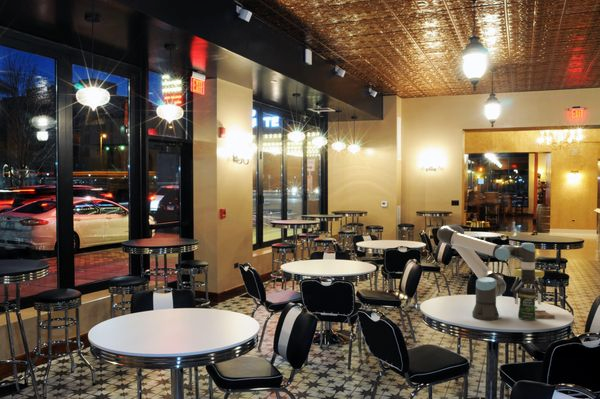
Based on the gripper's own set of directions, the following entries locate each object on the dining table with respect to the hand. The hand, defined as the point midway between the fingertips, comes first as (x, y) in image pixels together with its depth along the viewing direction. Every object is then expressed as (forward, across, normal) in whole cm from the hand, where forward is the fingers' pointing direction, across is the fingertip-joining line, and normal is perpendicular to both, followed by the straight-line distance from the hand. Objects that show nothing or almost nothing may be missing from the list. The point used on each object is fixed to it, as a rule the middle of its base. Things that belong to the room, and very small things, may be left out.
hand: (527, 304), depth 304 cm
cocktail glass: (+9, +14, +32) cm, 36 cm away
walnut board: (+9, +11, +9) cm, 17 cm away
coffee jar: (+9, 0, 0) cm, 9 cm away
